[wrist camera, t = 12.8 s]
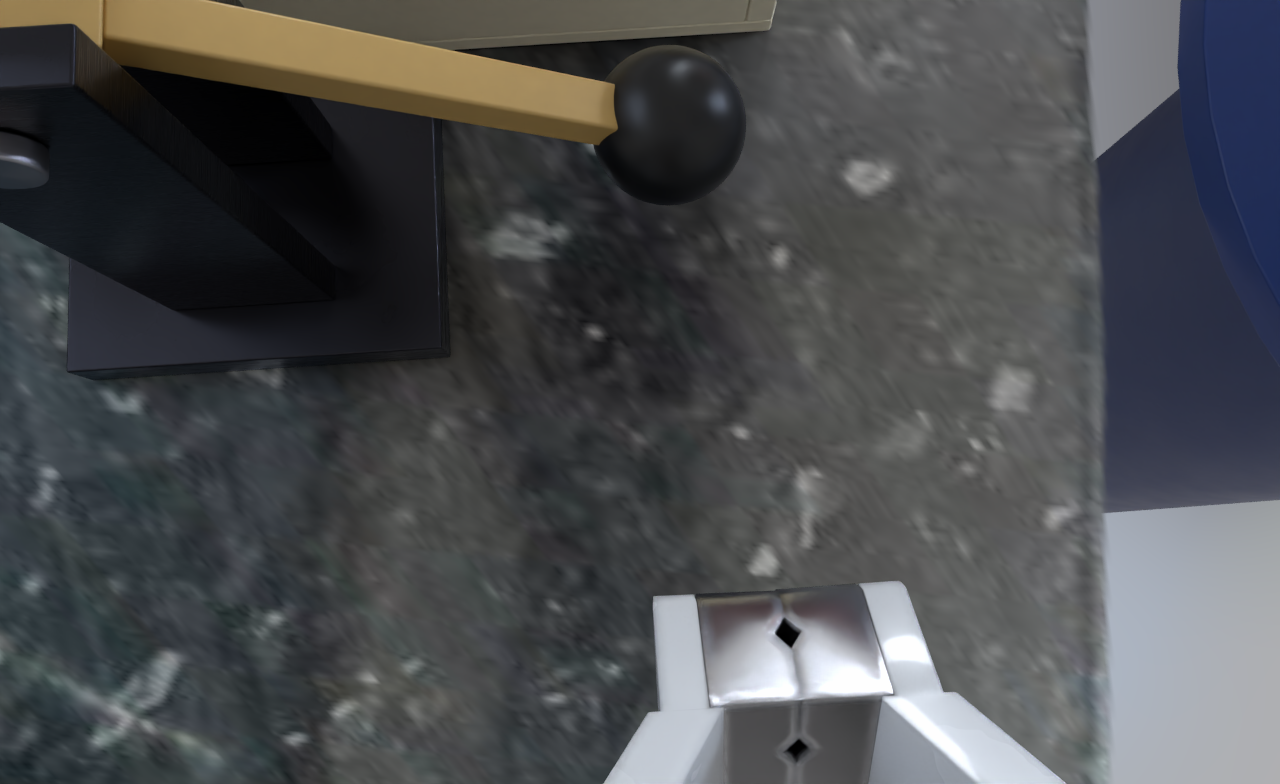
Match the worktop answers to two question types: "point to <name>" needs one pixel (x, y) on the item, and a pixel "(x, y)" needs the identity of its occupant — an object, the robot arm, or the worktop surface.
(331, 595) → the worktop surface
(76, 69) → the bracket
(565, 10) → the cream wooden tray
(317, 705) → the worktop surface
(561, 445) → the worktop surface
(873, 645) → the robot arm
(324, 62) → the tap lever
